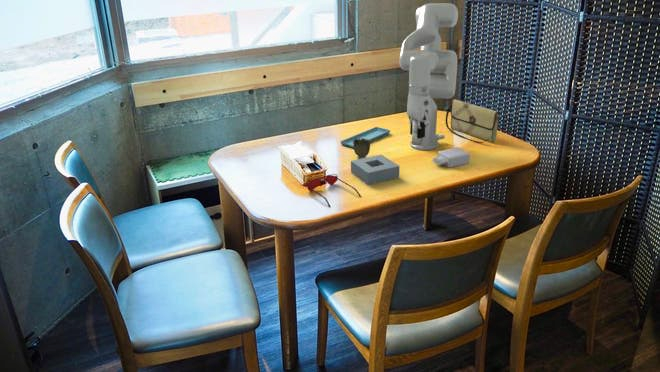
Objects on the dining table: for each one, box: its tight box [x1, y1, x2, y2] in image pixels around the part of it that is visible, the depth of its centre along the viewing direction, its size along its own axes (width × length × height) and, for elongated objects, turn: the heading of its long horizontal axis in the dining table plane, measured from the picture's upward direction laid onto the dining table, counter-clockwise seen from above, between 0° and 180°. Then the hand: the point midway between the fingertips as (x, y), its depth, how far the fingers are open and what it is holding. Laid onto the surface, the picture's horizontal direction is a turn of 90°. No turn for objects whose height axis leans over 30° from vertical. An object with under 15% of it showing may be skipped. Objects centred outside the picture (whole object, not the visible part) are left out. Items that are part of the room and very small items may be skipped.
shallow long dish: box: [339, 126, 392, 149], centre depth 255 cm, size 26×9×2 cm, turn 136°
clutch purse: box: [445, 98, 500, 144], centre depth 252 cm, size 30×7×15 cm, turn 34°
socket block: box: [350, 154, 401, 186], centre depth 217 cm, size 14×14×5 cm
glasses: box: [305, 173, 362, 208], centre depth 202 cm, size 14×16×5 cm
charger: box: [430, 147, 470, 168], centre depth 226 cm, size 5×9×15 cm
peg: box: [411, 118, 423, 145], centre depth 210 cm, size 4×4×10 cm
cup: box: [353, 138, 372, 159], centre depth 233 cm, size 8×7×8 cm
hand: (417, 135), depth 210 cm, fingers closed on peg, 4 cm apart
